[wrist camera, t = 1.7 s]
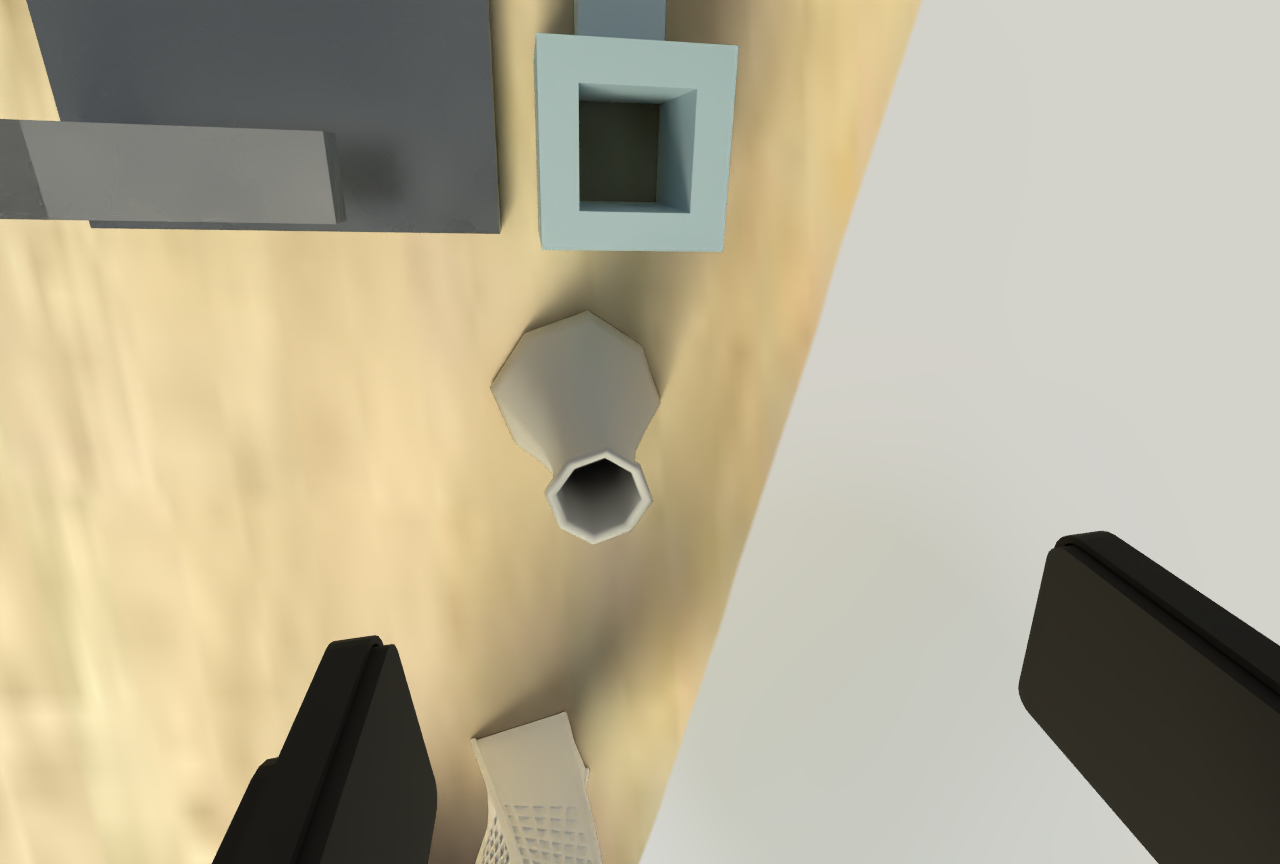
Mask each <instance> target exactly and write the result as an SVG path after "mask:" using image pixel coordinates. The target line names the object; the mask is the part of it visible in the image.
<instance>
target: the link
mask: <svg viewBox="0 0 1280 864" xmlns="http://www.w3.org/2000/svg"><path fill="white" fill-rule="evenodd" d="M665 15H666V0H574V35H563V34H548V33H536V40H535V53H534V87H535V121H536V155H537V190H538V224H539V236H540V241H541V247H542V250H595V251H692V252H723V244H724V231H725V218H726V205H727V192H728V179H729V166H730V153H731V140H732V127H733V114H734V101H735V88H736V75H737V61H738V48H739V46H737V45H721V44H705V43H689V42H674V41H665ZM579 100H580V101H601V102H622V103H643V104H660V116H659V142H658V169H657V196H656V202H614V201H579Z"/></svg>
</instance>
